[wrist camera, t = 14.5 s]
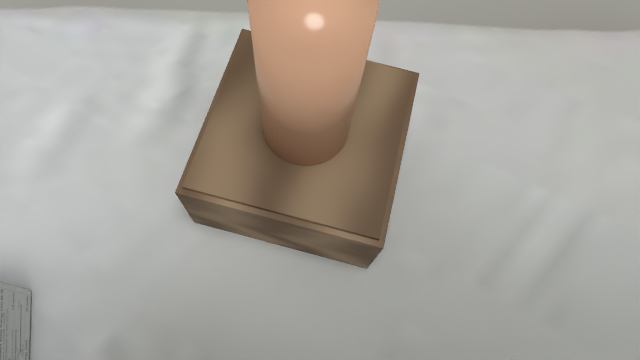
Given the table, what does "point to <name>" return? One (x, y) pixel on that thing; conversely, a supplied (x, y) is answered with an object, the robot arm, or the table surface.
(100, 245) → the table surface
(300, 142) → the terracotta canister
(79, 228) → the table surface
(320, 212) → the walnut box
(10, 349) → the light bulb box
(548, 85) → the table surface
